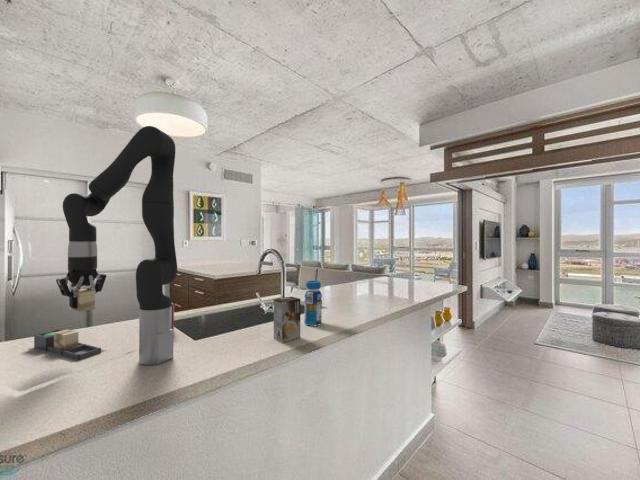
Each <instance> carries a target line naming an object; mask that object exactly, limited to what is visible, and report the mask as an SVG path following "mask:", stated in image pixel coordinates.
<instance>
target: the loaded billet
mask: <svg viewBox="0 0 640 480" xmlns="http://www.w3.org/2000/svg"><path fill="white" fill-rule="evenodd" d="M62 330H63V331H59V332H55V333H54V348H58V349H61V350H65V349H68V348H72V347H75V346H78V342H79V331H76V330H73V329H62Z"/></svg>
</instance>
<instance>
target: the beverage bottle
mask: <svg viewBox="0 0 640 480" xmlns="http://www.w3.org/2000/svg"><path fill="white" fill-rule="evenodd" d="M321 284H322V283H321V281H319V280H307V281H306V285H305V286H306V289H307V290H306V291H305V293H304V300H303V301H304V302H303V304H304V319H303V323H304V325H305V324H306V326H308V325H310V326H309V327H314V326H313V325H318V326H320V325H322V316H323V315H322V312H323V311H322V308H323V300H322V298H323V294H322V292H321V291H320V289H321V286H322V285H321ZM319 324H320V325H319Z"/></svg>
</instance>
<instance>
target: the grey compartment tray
mask: <svg viewBox="0 0 640 480" xmlns="http://www.w3.org/2000/svg"><path fill="white" fill-rule="evenodd" d="M63 330H64V329H60V328H57V329H55V330H54V329H53V330H49V331H45V332H41V333H37V334H34V335H33V339H34V340H33V347H31V348H27V350H29V351H31V352H35V353H39V354H42V355H45V356H46V355H47V356H49V357H51V358H52V357H53V358H56V359H59V360H63V361H65V362H66V361H67V362H70V363H75V362H78V361H81V360H83V359H87V358H90V357H92V356H96V355H98V354H100V353H105V352H106V351H107V350H105V349H102V348H101V347H98V346H95V345H91V344H85V343H83V342H79V341H78V346H75V347H72V348H68V349H65V350H61V349H58V348H54V335H53V336H49V337H47V336H44V335H45V334H47V333H51V332H59V331H63Z"/></svg>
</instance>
